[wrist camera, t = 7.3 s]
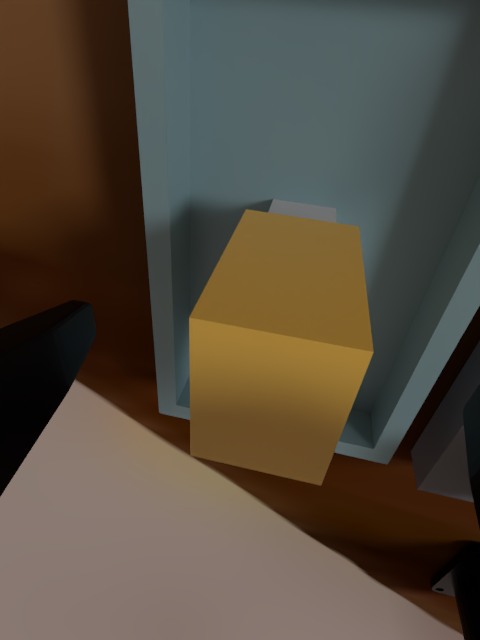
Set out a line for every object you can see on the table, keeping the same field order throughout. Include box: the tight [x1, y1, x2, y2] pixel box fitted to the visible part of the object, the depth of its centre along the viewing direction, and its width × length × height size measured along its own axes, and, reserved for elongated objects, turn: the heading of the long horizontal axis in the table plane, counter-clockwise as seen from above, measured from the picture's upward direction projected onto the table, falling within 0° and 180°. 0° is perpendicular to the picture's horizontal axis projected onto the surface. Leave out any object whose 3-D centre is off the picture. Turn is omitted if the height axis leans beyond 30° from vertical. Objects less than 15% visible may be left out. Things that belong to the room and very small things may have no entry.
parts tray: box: [128, 0, 480, 465], centre depth 12 cm, size 16×10×2 cm, turn 176°
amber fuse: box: [189, 199, 374, 485], centre depth 10 cm, size 4×3×7 cm
